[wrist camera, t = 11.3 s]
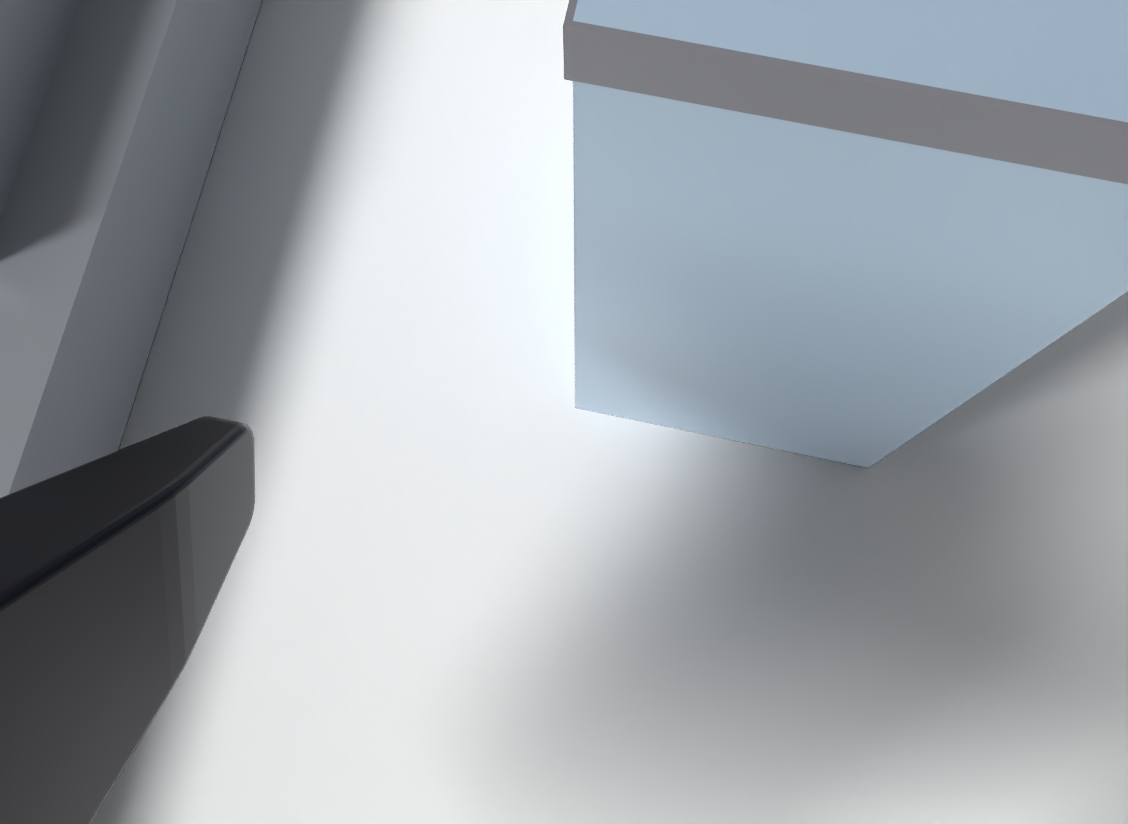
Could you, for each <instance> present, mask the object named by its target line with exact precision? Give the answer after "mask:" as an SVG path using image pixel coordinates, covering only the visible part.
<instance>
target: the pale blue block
mask: <svg viewBox="0 0 1128 824" xmlns="http://www.w3.org/2000/svg"><path fill="white" fill-rule="evenodd" d="M563 45H564V79H566V80H571V81H573V138H574V311H575V408H578V409H583V410H588V411H593V412H598V413H603V414H608V415H612V416H617V417H622V418H627V419H632V420H637V421H642V422H647V423H651V424H656V425H661V426H666V427H671V428H676V429H681V430H686V431H690V432H695V433H700V434H705V435H710V436H715V437H720V438H724V439H729V440H734V441H739V442H744V443H749V444H754V445H759V446H763V447H768V448H773V449H778V450H783V451H788V452H793V453H798V454H802V455H807V456H812V457H817V458H822V459H827V460H832V461H836V462H841V463H846V464H851V465H856V466H861V467H866V468H869V467H870V466H872V465H873V464H875V463H876V462H878V461H879V460H881V459H882V458H884V457H885V456H887V455H888V454H889V453H891V452H892V451H894V450H895V449H897V448H898V447H900V446H901V445H903V444H904V443H906V442H907V441H909V440H910V439H912V438H913V437H914V436H916V435H917V434H919V433H920V432H922V431H923V430H925V429H926V428H928V427H929V426H931V425H932V424H934V423H935V422H937V421H938V420H940V419H941V418H942V417H944V416H945V415H947V414H948V413H950V412H951V411H953V410H954V409H956V408H957V407H959V406H960V405H962V404H963V403H965V402H966V401H967V400H969V399H970V398H972V397H973V396H975V395H976V394H978V393H979V392H981V391H982V390H984V389H985V388H987V387H988V386H990V385H991V384H992V383H994V382H995V381H997V380H998V379H1000V378H1001V377H1003V376H1004V375H1006V374H1007V373H1009V372H1010V371H1012V370H1013V369H1015V368H1016V367H1018V366H1019V365H1020V364H1022V363H1023V362H1025V361H1026V360H1028V359H1029V358H1031V357H1032V356H1034V355H1035V354H1037V353H1038V352H1040V351H1041V350H1043V349H1044V348H1045V347H1047V346H1048V345H1050V344H1051V343H1053V342H1054V341H1056V340H1057V339H1059V338H1060V337H1062V336H1063V335H1065V334H1066V333H1068V332H1069V331H1070V330H1072V329H1073V328H1075V327H1076V326H1078V325H1079V324H1081V323H1082V322H1084V321H1085V320H1087V319H1088V318H1090V317H1091V316H1093V315H1094V314H1095V313H1097V312H1098V311H1100V310H1101V309H1103V308H1104V307H1106V306H1107V305H1109V304H1110V303H1112V302H1113V301H1115V300H1116V299H1118V298H1119V297H1121V296H1122V295H1123V294H1125V293H1126V292H1128V0H569V4H568V8H567V12H566V17H565V21H564V25H563Z"/></svg>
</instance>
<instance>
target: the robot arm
mask: <svg viewBox="0 0 1128 824" xmlns="http://www.w3.org/2000/svg"><path fill="white" fill-rule="evenodd" d="M254 504H255V466H254V437H253V434H252V430H251V429H250V428H249V427H248V426H247V425H246V424H244V423H239V422H235V421H230V420H225V419H220V418H215V417H210V416H206V417H201V418H198V419H196V420H193V421H191V422H188V423H186V424H183V425H181V426H178V427H176V428H173V429H171V430H168V431H166V432H163V433H161V434H158V435H156V436H153V437H151V438H148V439H146V440H144V441H141V442H139V443H136V444H134V445H131V446H129V447H126V448H124V449H121V450H119V451H116V452H114V453H111V454H109V455H106V456H104V457H101V458H99V459H96V460H94V461H91V462H89V463H86V464H84V465H81V466H79V467H76V468H74V469H71V470H69V471H66V472H64V473H61V474H59V475H56V476H54V477H51V478H49V479H46V480H44V481H41V482H39V483H36V484H34V485H31V486H29V487H26V488H24V489H21V490H19V491H16V492H14V493H11V494H9V495H6V496H4V497H1V498H0V824H90V823H91V821H92V819H93V818H94V816H95V814H96V813H97V811H98V809H99V808H100V806H101V804H102V803H103V801H104V799H105V798H106V796H107V795H108V793H109V791H110V790H111V788H112V786H113V785H114V783H115V781H116V780H117V778H118V776H119V775H120V773H121V771H122V770H123V768H124V766H125V765H126V763H127V762H128V760H129V758H130V757H131V755H132V753H133V752H134V750H135V748H136V747H137V745H138V743H139V742H140V740H141V738H142V737H143V735H144V733H145V732H146V730H147V729H148V727H149V725H150V724H151V722H152V720H153V719H154V717H155V715H156V714H157V712H158V710H159V709H160V707H161V705H162V704H163V702H164V700H165V699H166V697H167V696H168V694H169V692H170V691H171V689H172V687H173V686H174V684H175V682H176V680H177V678H178V677H179V675H180V673H181V671H182V670H183V668H184V666H185V664H186V662H187V660H188V658H189V656H190V654H191V652H192V650H193V648H194V646H195V644H196V642H197V640H198V637H199V635H200V633H201V631H202V629H203V626H204V624H205V622H206V620H207V618H208V615H209V613H210V611H211V609H212V606H213V604H214V602H215V600H216V598H217V595H218V593H219V591H220V589H221V587H222V584H223V582H224V580H225V578H226V576H227V573H228V571H229V569H230V567H231V565H232V562H233V560H234V558H235V556H236V553H237V551H238V549H239V547H240V545H241V542H242V540H243V538H244V536H245V534H246V531H247V529H248V527H249V524H250V522H251V518H252V515H253V510H254Z"/></svg>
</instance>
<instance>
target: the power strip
mask: <svg viewBox="0 0 1128 824" xmlns="http://www.w3.org/2000/svg"><path fill="white" fill-rule="evenodd" d="M261 2H262V0H0V498H1V497H4V496H6V495H9V494H11V493H14V492H16V491H19V490H21V489H24V488H26V487H29V486H31V485H34V484H36V483H39V482H41V481H44V480H46V479H49V478H51V477H54V476H56V475H59V474H61V473H64V472H66V471H69V470H71V469H74V468H76V467H79V466H81V465H84V464H86V463H89V462H91V461H94V460H96V459H99V458H101V457H104V456H106V455H109V454H111V453H114V452H116V451H118V449H119V446H120V443H121V440H122V437H123V434H124V431H125V427H126V424H127V421H128V418H129V415H130V412H131V409H132V406H133V402H134V399H135V396H136V393H137V390H138V387H139V384H140V381H141V377H142V374H143V371H144V368H145V365H146V362H147V359H148V356H149V352H150V349H151V346H152V343H153V340H154V337H155V334H156V331H157V327H158V324H159V321H160V318H161V315H162V312H163V309H164V306H165V302H166V299H167V296H168V293H169V290H170V287H171V284H172V281H173V277H174V274H175V271H176V268H177V265H178V262H179V259H180V256H181V252H182V249H183V246H184V243H185V240H186V237H187V234H188V231H189V227H190V224H191V221H192V218H193V215H194V212H195V209H196V206H197V202H198V199H199V196H200V193H201V190H202V187H203V184H204V181H205V177H206V174H207V171H208V168H209V165H210V162H211V159H212V155H213V152H214V149H215V146H216V143H217V140H218V137H219V134H220V130H221V127H222V124H223V121H224V118H225V115H226V112H227V109H228V105H229V102H230V99H231V96H232V93H233V90H234V87H235V84H236V80H237V77H238V74H239V71H240V68H241V65H242V62H243V59H244V55H245V52H246V49H247V46H248V43H249V40H250V37H251V34H252V30H253V27H254V24H255V21H256V18H257V15H258V12H259V9H260V5H261Z"/></svg>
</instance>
